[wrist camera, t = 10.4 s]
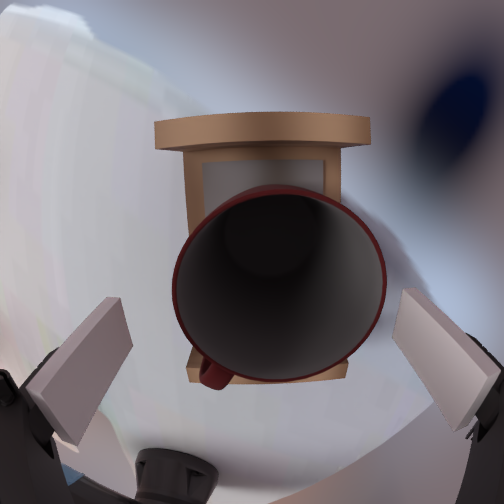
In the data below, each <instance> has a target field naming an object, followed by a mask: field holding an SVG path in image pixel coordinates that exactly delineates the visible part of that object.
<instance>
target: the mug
mask: <svg viewBox="0 0 504 504" xmlns="http://www.w3.org/2000/svg"><path fill="white" fill-rule="evenodd" d="M386 288H387V275H386V267H385V261H384V258H383V255H382V252H381V249H380V247H379V244H378V242H377V240H376V239H375V237H374V235H373V234H372V232H371V231H370V230H369V228H368V227H367V225H366V224H365V223H364V222H363V221H362V220H361V219H360V218H359V217H358V216H357V215H356V214H354V213H353V212H352V211H351V210H349V209H348V208H347V207H345V206H343V205H342V204H340V203H339V202H337V201H335V200H333V199H331V198H329V197H327V196H325V195H322V194H320V193H317V192H314V191H311V190H308V189H305V188H301V187H296V186H291V185H281V184H268V185H261V186H257V187H253V188H251V189H248V190H245V191H243V192H241V193H239V194H237V195H235V196H233V197H232V198H230V199H228V200H227V201H225V202H224V203H222V204H221V205H220V206H218V207H217V208H216V209H215V210H213V211H212V212H211V213H210V214H209V215H208V216H207V217H206V218H205V219H204V220H203V221H202V222H201V223H200V224H199V225H198V226H197V227H196V228H195V230H194V231H193V232H192V233H191V235H190V236H189V237H188V239H187V241H186V242H185V244H184V246H183V247H182V249H181V252H180V254H179V256H178V258H177V261H176V265H175V268H174V273H173V278H172V301H173V306H174V310H175V314H176V317H177V320H178V323H179V325H180V327H181V329H182V331H183V333H184V334H185V336H186V338H187V339H188V340H189V342H190V343H191V344H192V345H193V347H194V348H195V349H196V350H197V351H198V352H199V353H200V354H201V355H202V356H203V359H202V363H201V367H200V371H199V380H200V382H201V383H202V384H203V385H205V386H207V387H209V388H212V389H214V390H222V389H223V388H225V387H226V386H227V385H228V383H229V382H230V381H231V380H232V378H233V377H234V375H236V376H239V377H242V378H245V379H249V380H255V381H261V382H290V381H296V380H302V379H306V378H309V377H312V376H315V375H318V374H321V373H323V372H325V371H327V370H329V369H331V368H333V367H335V366H336V365H338V364H340V363H341V362H343V361H344V360H345V359H347V358H348V357H349V356H350V355H352V354H353V353H354V352H355V351H356V350H357V349H358V348H359V347H360V346H361V345H362V344H363V343H364V341H365V340H366V339H367V338H368V337H369V335H370V333H371V332H372V330H373V329H374V327H375V325H376V323H377V322H378V319H379V317H380V314H381V312H382V309H383V305H384V302H385V296H386Z"/></svg>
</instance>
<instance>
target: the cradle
mask: <svg viewBox="0 0 504 504" xmlns="http://www.w3.org/2000/svg"><path fill="white" fill-rule="evenodd" d="M154 126H155V149H160V150H171V151H181V152H183V161H184V179H185V194H186V207H187V219H188V230H189V236H190V235H191V233H192V232H193V231H194V230H195V228H196V227H197V226H198V225H199V224H200V223H201V222H202V221H203V220H204V219H205V218H206V217H207V216H208V215H209V214H210V213H211V212H212V211H213V210H215V209H216V208H217V207H218V206H220V205H221V204H222V203H224V202H225V201H227V200H228V199H230V198H232V197H233V196H235V195H237V194H239V193H241V192H243V191H245V190H248V189H251V188H253V187H257V186H261V185H268V184H281V185H291V186H296V187H301V188H305V189H308V190H311V191H314V192H317V193H320V194H322V195H325V196H327V197H329V198H331V199H333V200H335V201H337V202H339V203H340V202H341V148H345V147H352V146H361V145H370V144H371V136H370V135H371V134H370V117H362V116H353V115H342V114H329V113H311V112H245V113H227V114H213V115H203V116H193V117H185V118H177V119H170V120H163V121H157V122H154ZM202 359H203V356H202V355H201V354H200V353H199V352H198V351H197V350H196V349H195V348H194V347H192V350H191V354H190V357H189V360H188V363H187V366H186V370H187V374H188V378H189V382H193V383H201V382H200V380H199V371H200V367H201V363H202ZM348 364H349V363H348V360H347V359H345V360H344V361H343V362H341V363H340V364H338V365H336V366H335V367H333V368H331V369H329V370H327V371H325V372H323V373H321V374H318V375H315V376H312V377H309V378H306V379H302V380H296V381H290V382H261V381H255V380H249V379H245V378H242V377H239V376H236V375H234V377H233V378H232V380H231V381H230V382H229V383H228V384H279V383H298V382H311V381H323V380H332V379H341V378H345V376H346V372H347V368H348Z"/></svg>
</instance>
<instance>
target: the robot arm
mask: <svg viewBox="0 0 504 504" xmlns="http://www.w3.org/2000/svg"><path fill="white" fill-rule="evenodd" d="M392 338H393V340H394V341H395V342H396V344H397V345H398V347H399V348H400V350H401V351H402V353H403V354H404V355H405V357H406V358H407V360H408V361H409V363H410V364H411V366H412V367H413V369H414V370H415V372H416V373H417V375H418V376H419V378H420V379H421V381H422V382H423V384H424V385H425V387H426V388H427V390H428V391H429V393H430V395H431V396H432V398H433V399H434V401H435V403H436V404H437V406H438V407H439V409H440V411H441V412H442V414H443V416H444V417H445V419H446V421H447V422H448V424H449V426H450V427H451V429H452V431H453V432H455V431H457V430H459V429H461V428H463V427H466V426H467V425H468V424H469V423H470V421H471V420H472V418H473V417H474V416H475V415H476V417H477V418H478V421H477V422H476V423H475V425H474V426H473V428H472V429H471V430H470V432H469V433H468V434H467V436H466V439H468V438H469V437H470V436H471V434H472V433H473V437H472V438H471V440H472V444H471V449H470V454H469V458H468V462H467V467H466V471H465V474H464V478H463V481H462V485H461V488H460V491H459V494H458V497H457V500H456V503H455V504H504V367H503V366H502V365H501V364H500V363H499V362H498V361H497V360H496V358H495V357H494V356H493V355H492V354H491V353H489V352H488V351H487V349H486V348H485V347H484V346H483V347H482V344H481V343H480V342H479V341H478V340H477V339H476V338H474V337H472V336H471V335H469V334H467V333H464V332H463V331H462V330H461V329H460V328H459V327H458V326H457V325H456V324H455V323H454V322H453V321H452V320H451V319H450V318H449V317H448V316H447V315H446V314H444V313H443V312H442V311H441V310H440V309H439V308H438V307H437V306H436V305H435V304H434V303H432V302H431V301H430V300H429V299H428V298H427V297H426V296H425V295H423V294H422V293H421V292H420V291H419V290H418V289H417V288H405V289H403V290H402V295H401V300H400V305H399V309H398V314H397V318H396V323H395V327H394V331H393V335H392ZM132 347H133V344H132V340H131V337H130V333H129V330H128V326H127V323H126V319H125V315H124V311H123V307H122V303H121V299H120V298H117V297H106V298H105V299H104V300H103V301H102V302H101V304H100V305H99V306H98V307H97V308H96V309H95V310H94V311H93V312H92V313H91V314H90V315H89V316H88V317H87V318H86V319H85V320H84V321H83V322H82V323H81V324H80V325H79V326H78V328H77V329H76V330H75V331H74V332H73V333H72V334H71V335H70V336H69V337H68V338H67V339H66V341H65V342H64V343H63V344H62V345H61V346H60V347H58V348H56V349H55V350H53V351H52V352H50V353H49V354H48V355H47V356H46V357H45V358H44V360H43V362H41V363H40V364H39V365H38V366H37V368H36V369H35V370H34V371H33V372H32V373H31V375H30V376H29V377H28V378H27V379H26V381H25V382H24V383H23V384H22V385H21V387H20V388H19V389H18V387H17V385H16V384H15V382H14V380H13V378H12V377H11V375H10V373H9V372H8V371H7V370H4V369H0V504H206V503H207V501H208V500H209V498H210V496H211V494H212V493H213V491H214V489H215V487H216V485H217V482H218V471H217V470H216V469H215V468H214V467H213V466H212V465H210V464H209V463H207V462H205V461H203V460H201V459H198V458H196V457H193V456H190V455H187V454H184V453H180V452H176V451H171V450H165V449H144V450H141V451H140V452H139V453H138V456H137V459H136V462H135V468H136V481H137V493H136V496H135V499H131V498H129V497H127V496H125V495H122V494H120V493H118V492H116V491H114V490H111V489H109V488H107V487H105V486H103V485H101V484H99V483H97V482H95V481H94V480H92V479H90V478H88V477H86V476H85V474H83V473H80V472H78V471H76V470H74V469H72V468H71V467H69V466H67V465H65V464H63V463H61V462H60V459H59V455H58V451H57V447H56V443H55V441H54V438H53V437H52V435H53V433H54V431H55V432H56V433H57V434H58V436H59V437H60V438H61V440H62V441H65V442H67V443H70V444H73V445H75V446H78V445H79V442H80V441H81V439H82V437H83V435H84V433H85V431H86V429H87V427H88V425H89V423H90V421H91V419H92V417H93V416H94V414H95V412H96V410H97V408H98V406H99V405H100V403H101V401H102V399H103V397H104V395H105V394H106V392H107V390H108V388H109V386H110V385H111V383H112V381H113V379H114V378H115V376H116V374H117V372H118V371H119V369H120V367H121V366H122V364H123V362H124V360H125V359H126V357H127V355H128V354H129V352H130V350H131V349H132Z"/></svg>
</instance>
